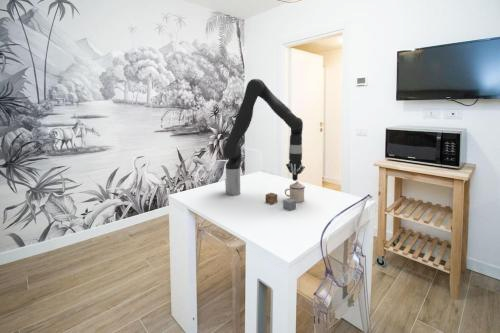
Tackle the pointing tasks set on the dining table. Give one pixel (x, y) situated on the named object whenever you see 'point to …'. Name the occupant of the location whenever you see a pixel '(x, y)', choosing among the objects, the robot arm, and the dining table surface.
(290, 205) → the slate-grey block
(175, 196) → the dining table surface
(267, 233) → the dining table surface
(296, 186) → the teacup with lid
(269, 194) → the walnut block
